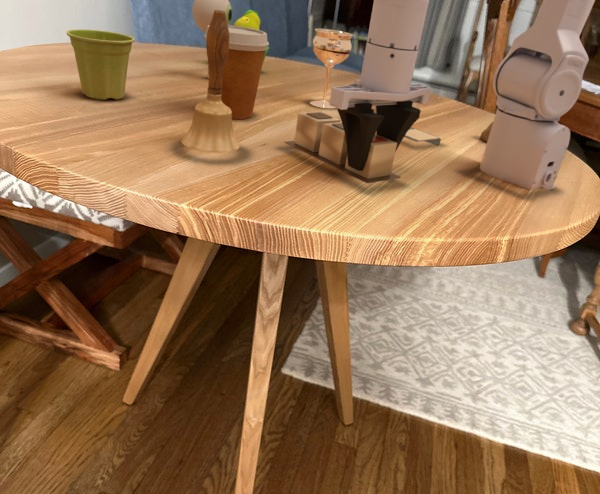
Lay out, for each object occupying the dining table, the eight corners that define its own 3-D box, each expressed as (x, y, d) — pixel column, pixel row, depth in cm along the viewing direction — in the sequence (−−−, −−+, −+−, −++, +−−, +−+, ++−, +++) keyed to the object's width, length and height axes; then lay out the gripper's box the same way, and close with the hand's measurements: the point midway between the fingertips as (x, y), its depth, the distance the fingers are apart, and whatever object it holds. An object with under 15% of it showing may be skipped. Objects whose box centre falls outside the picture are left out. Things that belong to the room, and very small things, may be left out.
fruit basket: (205, 63, 122) (208, 4, 116) (235, 61, 128) (239, 6, 122) (243, 75, 116) (248, 14, 110) (272, 73, 122) (278, 15, 116)
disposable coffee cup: (273, 121, 88) (281, 37, 81) (216, 122, 83) (221, 33, 76) (244, 105, 94) (250, 26, 88) (191, 105, 89) (193, 22, 83)
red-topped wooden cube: (390, 175, 69) (397, 141, 67) (367, 179, 67) (374, 144, 65) (367, 164, 72) (373, 132, 70) (344, 167, 69) (350, 134, 67)
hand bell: (248, 146, 75) (259, 13, 67) (237, 166, 68) (248, 19, 60) (186, 137, 75) (190, 2, 67) (169, 155, 68) (170, 7, 60)
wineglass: (303, 98, 105) (313, 27, 98) (339, 102, 105) (351, 32, 99) (305, 106, 99) (315, 31, 93) (343, 111, 100) (356, 37, 93)
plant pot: (87, 85, 92) (83, 26, 87) (144, 94, 91) (143, 36, 87) (59, 97, 84) (54, 33, 79) (122, 107, 83) (120, 43, 79)
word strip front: (400, 184, 70) (409, 143, 67) (365, 191, 66) (374, 148, 64) (316, 145, 80) (321, 108, 77) (282, 148, 76) (287, 110, 73)
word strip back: (439, 144, 89) (448, 111, 86) (414, 148, 85) (423, 113, 82) (372, 118, 98) (378, 87, 95) (347, 120, 94) (352, 88, 92)
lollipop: (221, 84, 105) (226, -6, 97) (184, 78, 106) (186, -13, 98) (232, 78, 111) (238, -8, 103) (198, 72, 112) (201, -14, 104)
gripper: (408, 40, 69) (385, 150, 76) (319, 36, 60) (302, 161, 67) (454, 52, 64) (425, 167, 71) (365, 50, 56) (342, 181, 63)
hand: (368, 165), depth 69 cm, fingers closed on red-topped wooden cube, 4 cm apart
